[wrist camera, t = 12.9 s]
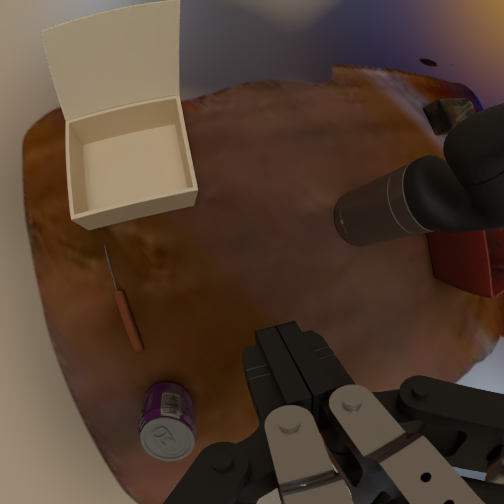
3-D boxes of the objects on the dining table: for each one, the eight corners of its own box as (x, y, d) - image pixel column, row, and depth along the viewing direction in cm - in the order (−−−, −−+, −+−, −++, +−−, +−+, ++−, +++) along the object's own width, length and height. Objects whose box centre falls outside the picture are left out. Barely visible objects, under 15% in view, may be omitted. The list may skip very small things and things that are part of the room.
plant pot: (426, 298, 52) (493, 300, 36) (407, 204, 53) (472, 183, 36) (473, 274, 57) (529, 271, 41) (457, 196, 58) (512, 179, 41)
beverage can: (135, 395, 38) (123, 432, 26) (172, 371, 40) (172, 403, 28) (164, 429, 38) (163, 472, 27) (201, 406, 40) (211, 446, 29)
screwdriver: (144, 348, 39) (143, 351, 37) (136, 351, 39) (134, 354, 37) (110, 242, 39) (107, 240, 37) (102, 245, 39) (98, 243, 37)
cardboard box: (177, 122, 43) (179, 94, 35) (194, 205, 43) (198, 189, 35) (80, 144, 39) (65, 120, 31) (89, 230, 39) (71, 219, 31)
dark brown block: (467, 130, 63) (482, 122, 56) (435, 137, 58) (453, 128, 52) (454, 105, 63) (469, 96, 56) (420, 108, 58) (437, 97, 51)
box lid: (179, 94, 35) (178, 91, 36) (180, 0, 23) (179, -1, 23) (65, 120, 31) (66, 117, 31) (40, 32, 19) (42, 30, 19)
